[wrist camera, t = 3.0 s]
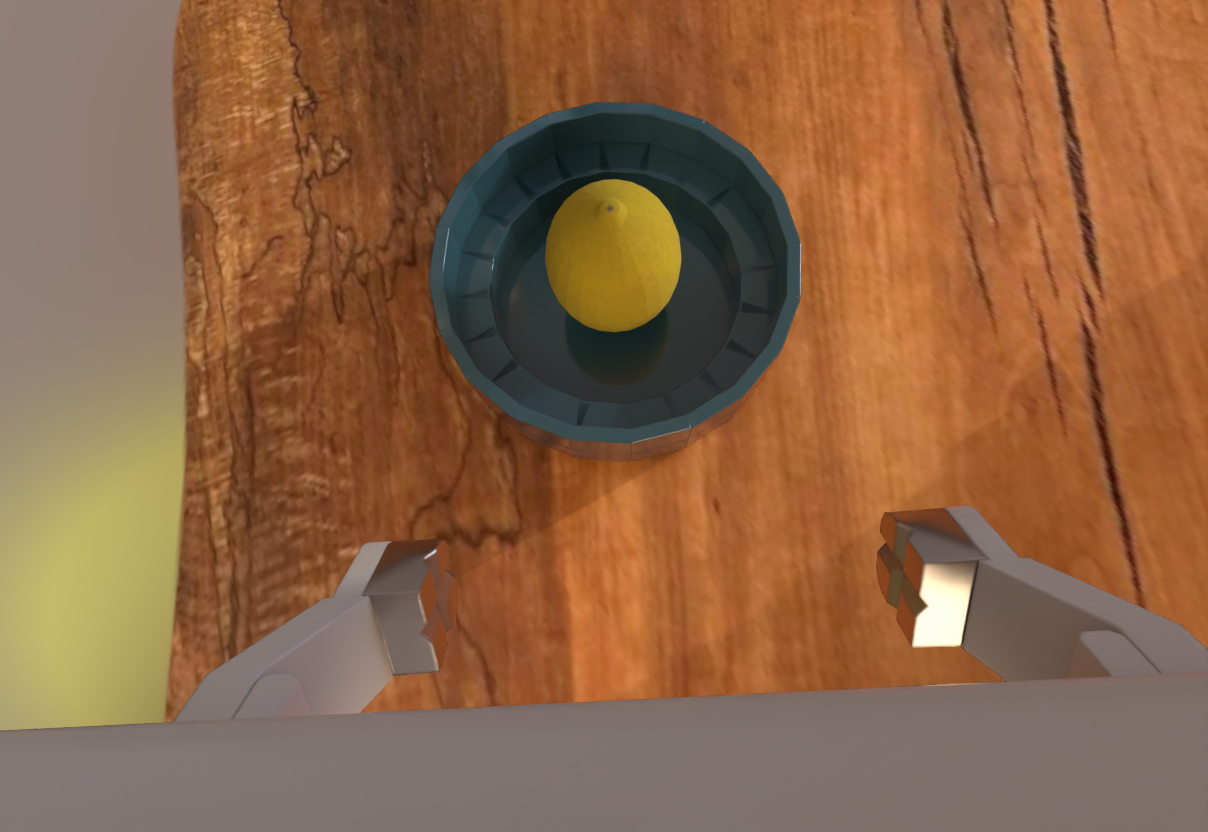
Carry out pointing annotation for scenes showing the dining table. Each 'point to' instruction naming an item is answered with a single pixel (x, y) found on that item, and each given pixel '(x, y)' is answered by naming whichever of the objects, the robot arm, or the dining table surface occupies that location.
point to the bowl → (628, 358)
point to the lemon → (613, 255)
